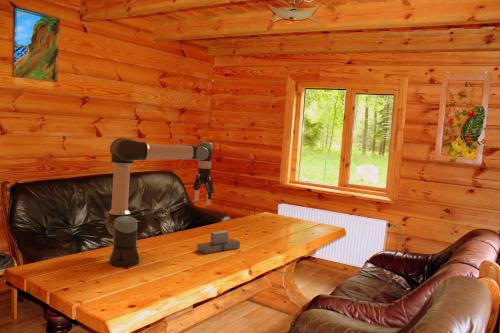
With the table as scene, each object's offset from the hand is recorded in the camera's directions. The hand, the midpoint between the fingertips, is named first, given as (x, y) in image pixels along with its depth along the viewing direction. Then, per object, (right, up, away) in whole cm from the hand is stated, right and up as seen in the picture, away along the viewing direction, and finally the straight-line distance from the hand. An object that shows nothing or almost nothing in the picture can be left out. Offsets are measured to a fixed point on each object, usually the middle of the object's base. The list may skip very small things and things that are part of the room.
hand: (202, 202), depth 262 cm
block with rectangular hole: (+10, -28, -1) cm, 30 cm away
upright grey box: (+10, -28, -1) cm, 29 cm away
